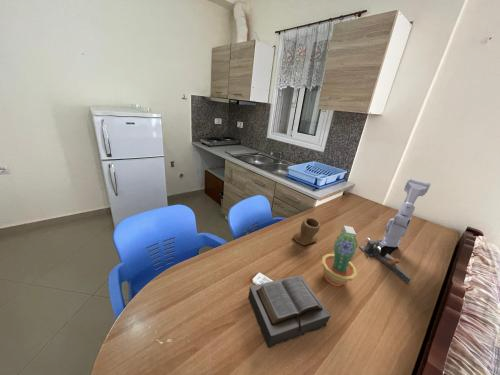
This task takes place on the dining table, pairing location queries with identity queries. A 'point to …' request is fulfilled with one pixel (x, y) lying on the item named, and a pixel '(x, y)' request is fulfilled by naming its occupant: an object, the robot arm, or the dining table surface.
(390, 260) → the metal rod with plate
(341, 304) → the dining table surface
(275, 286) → the bible
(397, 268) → the grey hammer
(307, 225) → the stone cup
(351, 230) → the small box
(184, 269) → the dining table surface
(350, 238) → the potted cactus
